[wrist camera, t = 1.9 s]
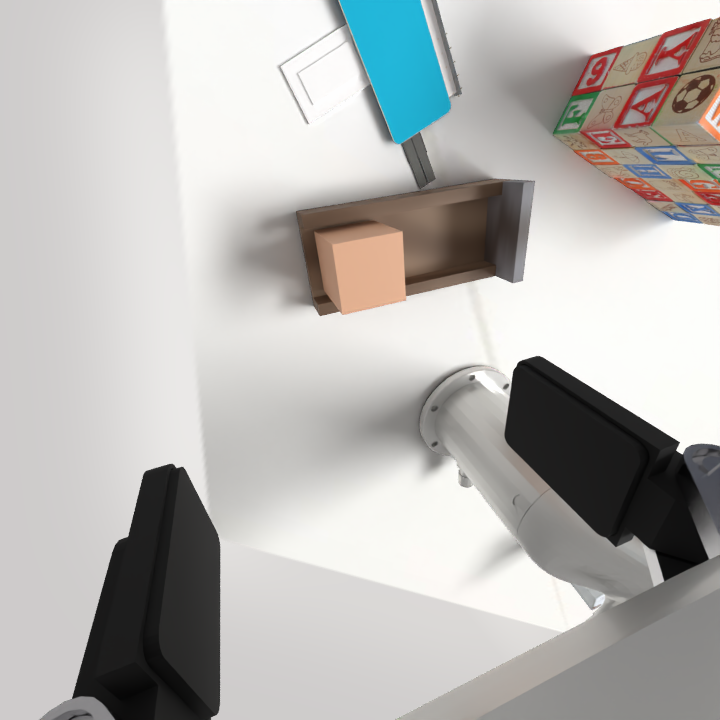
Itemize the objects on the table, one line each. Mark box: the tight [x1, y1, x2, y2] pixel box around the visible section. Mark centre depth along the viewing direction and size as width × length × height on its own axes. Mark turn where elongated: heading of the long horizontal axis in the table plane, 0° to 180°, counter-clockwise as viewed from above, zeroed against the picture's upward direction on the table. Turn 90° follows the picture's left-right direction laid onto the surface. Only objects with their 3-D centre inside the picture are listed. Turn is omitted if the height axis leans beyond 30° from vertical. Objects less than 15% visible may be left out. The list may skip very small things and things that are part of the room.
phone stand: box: [281, 0, 462, 189], centre depth 25 cm, size 20×12×2 cm, turn 29°
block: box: [314, 220, 406, 315], centre depth 28 cm, size 5×5×6 cm
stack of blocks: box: [553, 17, 720, 226], centre depth 30 cm, size 21×6×12 cm, turn 68°
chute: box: [296, 179, 535, 316], centre depth 30 cm, size 8×18×5 cm, turn 97°
